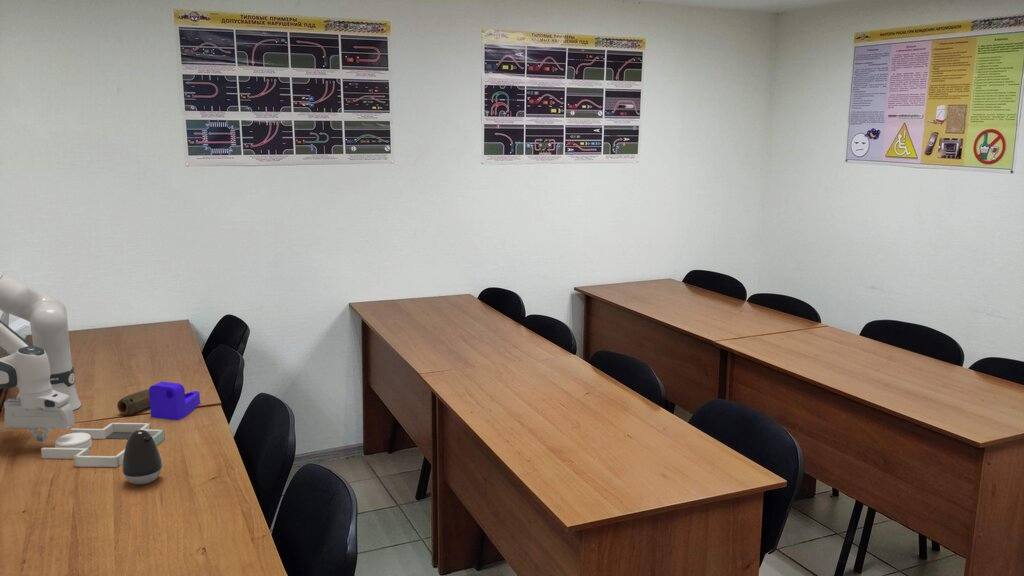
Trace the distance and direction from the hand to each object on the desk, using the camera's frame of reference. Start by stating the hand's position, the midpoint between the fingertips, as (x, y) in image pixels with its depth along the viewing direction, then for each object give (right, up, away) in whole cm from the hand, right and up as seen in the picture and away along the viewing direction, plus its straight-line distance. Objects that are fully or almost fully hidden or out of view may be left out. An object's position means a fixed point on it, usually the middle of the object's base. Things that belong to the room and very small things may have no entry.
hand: (41, 440), depth 253 cm
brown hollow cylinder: (+15, +4, +34) cm, 38 cm away
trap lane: (+20, -2, 0) cm, 20 cm away
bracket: (+30, +4, +34) cm, 46 cm away
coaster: (+10, -3, 0) cm, 10 cm away
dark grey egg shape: (+43, -7, -23) cm, 49 cm away
